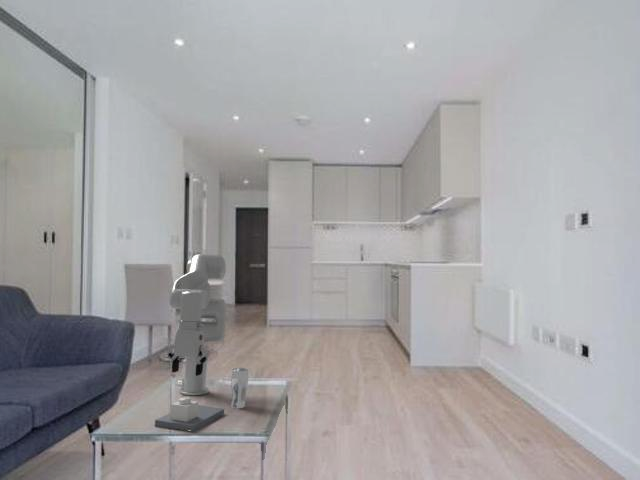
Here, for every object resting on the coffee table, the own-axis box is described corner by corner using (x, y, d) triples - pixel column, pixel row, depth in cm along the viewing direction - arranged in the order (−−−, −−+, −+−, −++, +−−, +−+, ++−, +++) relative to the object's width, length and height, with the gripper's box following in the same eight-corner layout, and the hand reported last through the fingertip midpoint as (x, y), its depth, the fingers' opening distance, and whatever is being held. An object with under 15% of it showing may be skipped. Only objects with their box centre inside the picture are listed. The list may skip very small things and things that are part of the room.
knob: (170, 419, 158) (171, 399, 159) (181, 414, 164) (182, 395, 165) (186, 421, 156) (187, 402, 157) (196, 416, 163) (198, 397, 163)
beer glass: (239, 403, 188) (241, 367, 190) (250, 407, 184) (252, 369, 185) (226, 406, 183) (228, 369, 184) (237, 410, 179) (239, 371, 180)
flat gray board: (154, 425, 157) (155, 409, 157) (190, 409, 178) (191, 394, 178) (192, 431, 152) (193, 415, 153) (224, 414, 173) (224, 399, 174)
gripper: (216, 326, 164) (213, 373, 163) (175, 322, 169) (172, 368, 168) (205, 328, 157) (202, 378, 156) (163, 324, 162) (159, 372, 161)
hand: (186, 373), depth 162 cm, fingers open, 9 cm apart
